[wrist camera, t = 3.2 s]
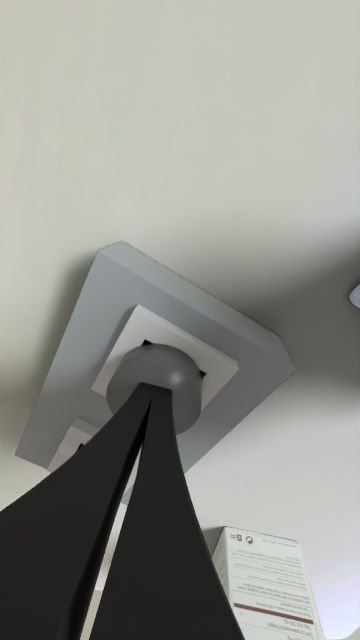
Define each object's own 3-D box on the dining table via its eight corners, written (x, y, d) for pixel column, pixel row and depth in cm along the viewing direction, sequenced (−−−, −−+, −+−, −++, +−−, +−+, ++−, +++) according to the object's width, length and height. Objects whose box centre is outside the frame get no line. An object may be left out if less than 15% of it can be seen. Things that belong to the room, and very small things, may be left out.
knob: (217, 334, 14) (221, 396, 9) (182, 379, 15) (171, 449, 11) (157, 298, 13) (130, 346, 9) (127, 349, 15) (92, 410, 10)
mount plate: (279, 336, 13) (300, 378, 10) (151, 471, 20) (140, 521, 17) (122, 240, 12) (90, 253, 9) (42, 419, 19) (8, 463, 16)
